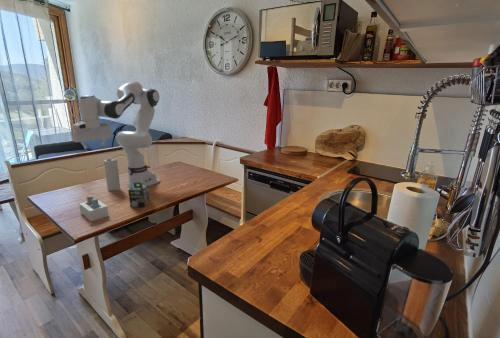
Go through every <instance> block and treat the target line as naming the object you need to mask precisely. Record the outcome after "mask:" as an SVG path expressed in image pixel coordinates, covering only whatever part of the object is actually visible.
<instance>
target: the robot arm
mask: <svg viewBox="0 0 500 338" xmlns="http://www.w3.org/2000/svg"><path fill="white" fill-rule="evenodd" d="M116 95H117V98H118V100H102V99H100V98H97V96H95V94H84V95H82V96H80V97H79V101H78V103H79V111H80V114H81V120H80V121H79V122H76V123H73V124H72V127H73V129H72V132H71V133H72V140H73V142H75V143H80V144H81V145H82V146H83V149H84V150H88V149H89V148H88V146H89V145H86V144H85V143H86V142H91V141H99V140H100V141H101V140H102V143H100V146H101V147H105V146H106V142H107V140H109V139H112V136H113V135H112V131H111V125H110V123H108V122H101V120H100V117H101V118H110V119H119V118H120V117H121V116H122V115H123V113H124V112H125V110H127V109H128V108H129V107H131V105H132V104H134V105H140V107H139V110H138V111H137V113H136V115H135V117H134V119H133V122H132V124H133V126H134V128H135V130H134V131H133V130H132V131H130V130H125V131H124V130H123V131H119V132H117V134H116V137H115V138H116V139H115V140H116V143H117V144H118V145H119V146H120V147H121V148H122V149H123V151H124V152H125V155H126V158H127V159H126V160H127V172H128V183H127V186H128V187H129V188H131V187H132V186H133V185H134V183H142V185H148V187H150V186H152V185H156V184H157V183H160V182H161V180H160V179H159V178H158V177H157V175H156V173H155V172H153V171H152V170H149V169H150V168H151V165H148V164H146V163H145V155H144V153H142V152H141V150H139V149H146V148H150V147H151V146H152V143H153V138H152V136H151V134H150V132H149V129H150V126H151V124H152V122H153V120H154V116H155V113H156V109H155V107H156V106H157V105H158V102H159V100H160V94H159V92H158V90H156V89H154V88H144V87H143V86H142V84H141V83H140V82H138V81H136V80H132V81H129V82H126V83H125V84H122V85H121V86H119V87H118V88H117V91H116ZM136 185H139V184H136Z"/></svg>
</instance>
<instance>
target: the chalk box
mask: <svg viewBox="0 0 500 338" xmlns="http://www.w3.org/2000/svg"><path fill="white" fill-rule="evenodd" d="M136 184H139V185H136ZM149 188H150V187H149V186H148V185H142V183H134V185H133V186H132V187H129V189H128V190H127V191H128V198H129V199H128V200H129V206H130V208H146V207H147V206H148V205H149V203H150V201H151V199H150V190H149Z"/></svg>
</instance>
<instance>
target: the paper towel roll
mask: <svg viewBox="0 0 500 338" xmlns="http://www.w3.org/2000/svg"><path fill="white" fill-rule="evenodd" d="M103 163H104V171H105V178H106V179H105V181H106V187H107V190H108V191H109V192H110V191H112V192H113V191H118V190H121V184H120V181H121V180H120V173H119V165H118V160H117V159H116V160H115V158H107V159H104V160H103Z"/></svg>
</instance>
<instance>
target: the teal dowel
mask: <svg viewBox="0 0 500 338" xmlns="http://www.w3.org/2000/svg"><path fill="white" fill-rule="evenodd" d="M98 200H99V199H98V198H93V199H92V200H91V201H92V207H93V209H95V208H98V207H99V204H98Z"/></svg>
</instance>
